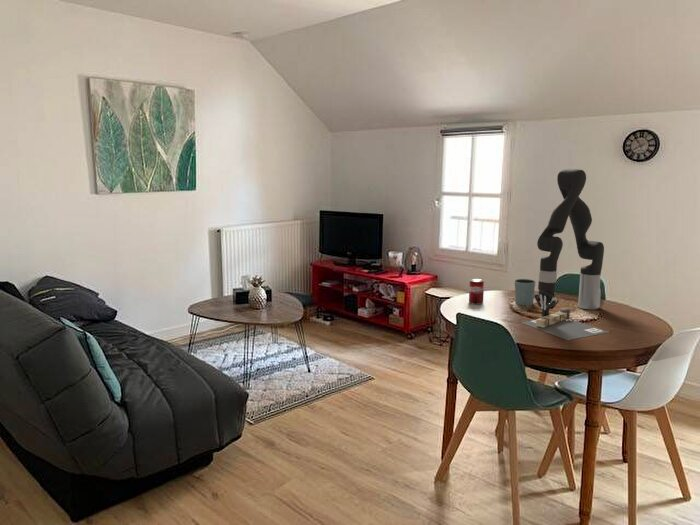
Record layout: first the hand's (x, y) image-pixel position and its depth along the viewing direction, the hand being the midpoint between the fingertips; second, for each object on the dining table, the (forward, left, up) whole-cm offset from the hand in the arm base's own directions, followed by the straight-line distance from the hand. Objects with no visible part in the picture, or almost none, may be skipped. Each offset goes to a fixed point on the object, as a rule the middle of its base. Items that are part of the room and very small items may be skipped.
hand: (544, 317), depth 244 cm
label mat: (-1, +10, -2) cm, 10 cm away
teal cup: (-14, -30, -2) cm, 33 cm away
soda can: (+7, -41, -2) cm, 42 cm away
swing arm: (-2, +3, -2) cm, 4 cm away
